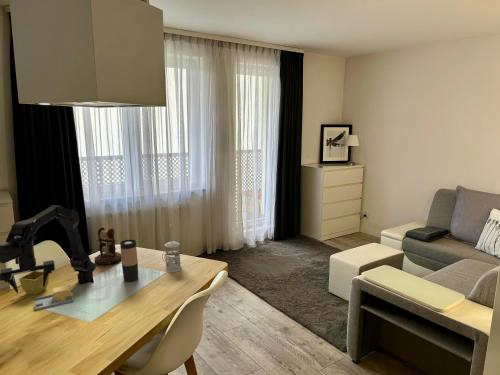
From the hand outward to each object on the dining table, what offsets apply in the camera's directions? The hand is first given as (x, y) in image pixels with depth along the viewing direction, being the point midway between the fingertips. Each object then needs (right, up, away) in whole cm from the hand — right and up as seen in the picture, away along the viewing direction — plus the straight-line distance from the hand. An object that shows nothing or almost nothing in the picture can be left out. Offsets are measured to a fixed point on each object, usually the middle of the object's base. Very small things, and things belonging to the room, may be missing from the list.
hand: (30, 289), depth 142 cm
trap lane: (+2, -10, +14) cm, 17 cm away
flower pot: (-12, -8, +23) cm, 27 cm away
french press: (+47, -3, +48) cm, 67 cm away
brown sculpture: (+7, -1, +60) cm, 61 cm away
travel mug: (+29, -5, +36) cm, 46 cm away
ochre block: (+4, -8, +17) cm, 19 cm away
